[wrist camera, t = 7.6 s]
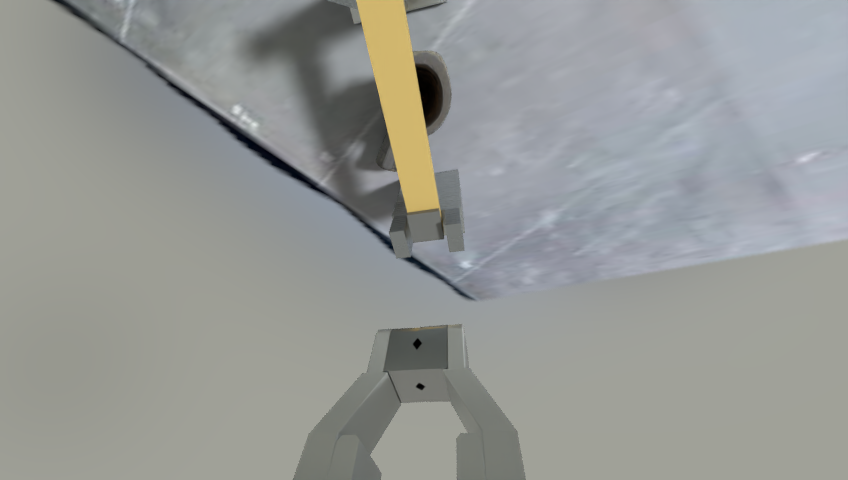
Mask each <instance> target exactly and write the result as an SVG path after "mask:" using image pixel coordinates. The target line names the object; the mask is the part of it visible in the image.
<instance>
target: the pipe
mask: <svg viewBox="0 0 848 480" xmlns="http://www.w3.org/2000/svg"><path fill="white" fill-rule="evenodd" d="M413 57H414V62H415V68H416V74H417V79H418V85H419V91H420V96H421V102H422V108H423V113H424V119H425V125H426V131H427V136H428V135H430V134H432V133H434V132H435V131H436V130H437V129H438V128H439V127H440V126H441V125H442V123H443V122H444V120H445V118H446V116H447V114H448V112H449V109H450V105H451V95H452V93H451V84H450V79H449V74H448V70H447V67H446V65H445V63H444V61H443V58H442V56H441V55H440V54H438V53H437V52H434V51H414V52H413ZM380 106H381V111H382V114H383V110H382V105H381V101H380ZM383 116H384V114H383ZM376 163H377V164H378V165H379V166H380V167H381V168H383V169H386V170H388V171H394V172H397V168H396V164H395V159H394V155H393V151H392V147H391V143H390V139H389V135H388V132H387V135H386V137H385V140H384V142H383V145H382V147H381V149H380V152H379V154H378V156H377V159H376Z"/></svg>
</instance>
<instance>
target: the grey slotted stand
mask: <svg viewBox="0 0 848 480" xmlns="http://www.w3.org/2000/svg"><path fill="white" fill-rule="evenodd" d="M327 1H330V2H334V3H337V4H340V5H343V6H347V7H350V11H351V14H352V18H353V22H354V24H359V23H362V22H361V18H360V14H359V10H358V6H357V2H356V0H327ZM445 2H447V0H404V5H405V11H406V12H408V11H412V10H416V9H420V8H424V7H428V6H433V5H437V4H441V3H445Z"/></svg>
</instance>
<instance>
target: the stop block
mask: <svg viewBox="0 0 848 480" xmlns="http://www.w3.org/2000/svg"><path fill="white" fill-rule="evenodd" d="M434 176H435V182H436V187H437V193H438V199H439V205H440V210H441V216H442V222H443V227H444V236H445V235H447V240H448V246H449V251H450V252H456V251H464V239H463V233H465V228H464V218H463V207H462V196H461V187H460V180H459V172H458V170H452V171H446V172H440V173H434ZM392 219H393V221H392V224H391V227H390V231H389V234H390V238H391V241H392V244H393V248H394V251H395V255H396V258H404V257H411V251H412V245H413V240H412V236H411V232H410V228H409V224H408V219H407V209H406V205H405V201H404V197H403V193H402V188H400V191H399V195H398V198H397V201H396V205H395V208H394V211H393V214H392Z"/></svg>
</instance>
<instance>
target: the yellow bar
mask: <svg viewBox="0 0 848 480" xmlns="http://www.w3.org/2000/svg"><path fill="white" fill-rule="evenodd" d="M356 2H357V6H358V10H359V14H360V18H361V22H362V27H363V31H364V35H365V39H366V43H367V47H368V52H369V56H370V60H371V64H372V68H373V72H374V76H375V81H376V85H377V89H378V93H379V97H380V101H381V105H382V110H383V114H384V118H385V122H386V126H387V130H388V135H389V139H390V143H391V147H392V151H393V155H394V159H395V164H396V168H397V172H398V176H399V180H400V184H401V188H402V193H403V197H404V201H405V205H406V209H407V219H408V224H409V228H410V232H411V236H412V240H413V243H415V242H423V241H432V240H440V239H444V227H443V222H442V216H441V210H440V205H439V199H438V193H437V187H436V182H435V176H434V170H433V165H432V159H431V153H430V148H429V142H428V136H427V131H426V125H425V119H424V113H423V108H422V102H421V96H420V91H419V85H418V79H417V74H416V68H415V62H414V57H413V51H412V45H411V40H410V34H409V28H408V22H407V17H406V11H405V5H404V0H356Z"/></svg>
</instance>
